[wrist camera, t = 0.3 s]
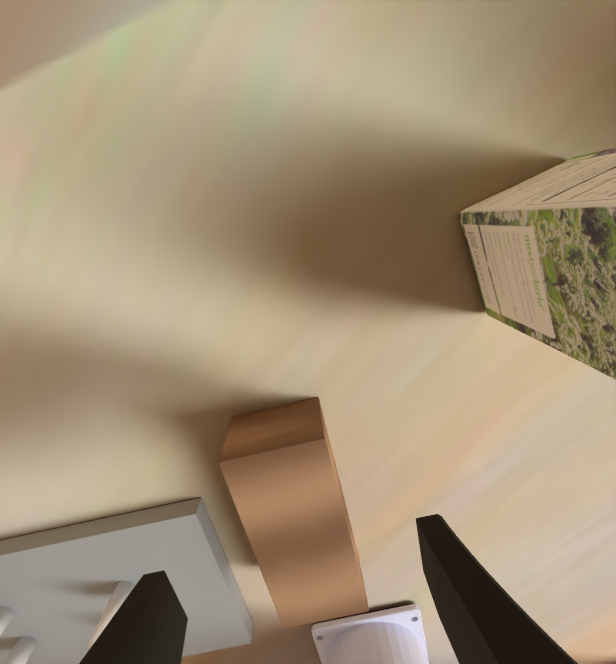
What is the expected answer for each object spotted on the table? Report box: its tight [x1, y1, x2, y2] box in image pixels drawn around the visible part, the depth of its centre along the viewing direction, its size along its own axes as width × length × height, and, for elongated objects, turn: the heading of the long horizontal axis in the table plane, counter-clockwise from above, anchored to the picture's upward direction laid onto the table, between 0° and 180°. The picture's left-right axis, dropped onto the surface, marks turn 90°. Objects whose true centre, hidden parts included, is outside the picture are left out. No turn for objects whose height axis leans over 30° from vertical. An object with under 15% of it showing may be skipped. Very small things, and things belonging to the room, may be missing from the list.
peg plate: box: [0, 498, 254, 664], centre depth 20 cm, size 12×20×4 cm, turn 102°
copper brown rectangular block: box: [218, 397, 369, 629], centre depth 19 cm, size 12×5×4 cm, turn 13°
